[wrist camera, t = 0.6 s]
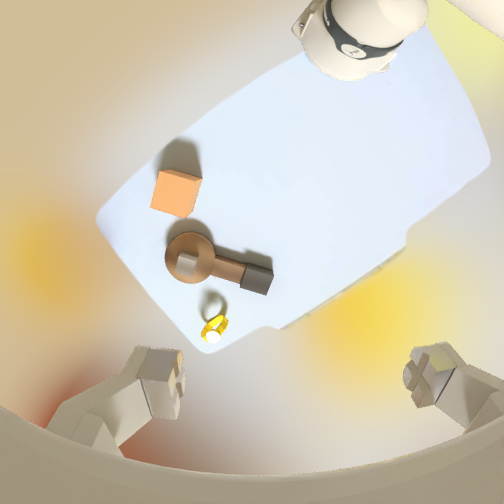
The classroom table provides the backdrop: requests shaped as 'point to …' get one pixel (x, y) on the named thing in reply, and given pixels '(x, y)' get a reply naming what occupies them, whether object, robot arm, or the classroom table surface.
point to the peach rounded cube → (175, 192)
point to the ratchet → (212, 264)
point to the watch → (213, 334)
